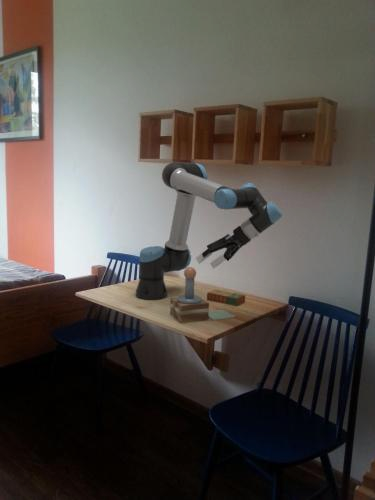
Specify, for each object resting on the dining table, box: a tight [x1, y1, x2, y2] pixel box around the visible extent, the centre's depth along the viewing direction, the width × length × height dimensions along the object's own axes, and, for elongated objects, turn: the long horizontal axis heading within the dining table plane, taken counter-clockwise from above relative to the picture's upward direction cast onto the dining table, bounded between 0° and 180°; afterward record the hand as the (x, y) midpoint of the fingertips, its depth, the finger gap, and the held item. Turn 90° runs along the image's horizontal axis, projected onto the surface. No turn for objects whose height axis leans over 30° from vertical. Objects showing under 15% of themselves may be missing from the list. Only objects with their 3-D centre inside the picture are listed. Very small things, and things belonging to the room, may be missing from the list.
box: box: [169, 296, 210, 324], centre depth 173 cm, size 12×12×7 cm
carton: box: [206, 289, 246, 307], centre depth 197 cm, size 8×16×4 cm, turn 57°
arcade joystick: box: [177, 266, 203, 304], centre depth 171 cm, size 10×10×14 cm
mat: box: [208, 309, 235, 321], centre depth 177 cm, size 10×10×1 cm
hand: (204, 263), depth 173 cm, fingers open, 13 cm apart
